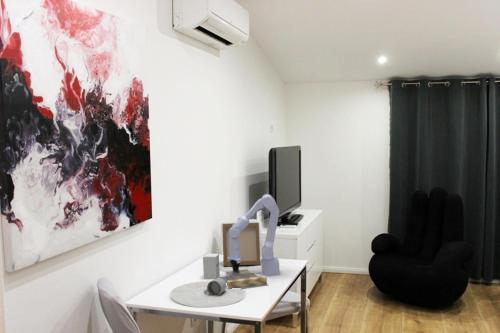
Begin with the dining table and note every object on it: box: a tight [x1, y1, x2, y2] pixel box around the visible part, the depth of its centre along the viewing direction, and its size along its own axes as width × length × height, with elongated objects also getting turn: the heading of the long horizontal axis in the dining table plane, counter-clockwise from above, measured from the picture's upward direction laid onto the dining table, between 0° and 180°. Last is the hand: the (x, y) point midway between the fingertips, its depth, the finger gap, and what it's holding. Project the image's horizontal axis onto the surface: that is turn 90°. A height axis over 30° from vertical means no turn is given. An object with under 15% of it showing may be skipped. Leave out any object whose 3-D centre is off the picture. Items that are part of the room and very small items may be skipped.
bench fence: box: [226, 274, 268, 290], centre depth 243 cm, size 20×5×4 cm, turn 107°
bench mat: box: [218, 272, 269, 290], centre depth 250 cm, size 20×26×1 cm
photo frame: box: [222, 222, 261, 267], centre depth 289 cm, size 15×22×25 cm
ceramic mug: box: [203, 278, 227, 297], centre depth 233 cm, size 11×8×8 cm
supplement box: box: [202, 253, 221, 280], centre depth 261 cm, size 7×7×13 cm
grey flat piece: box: [225, 268, 252, 280], centre depth 257 cm, size 12×8×3 cm, turn 107°
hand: (235, 273), depth 262 cm, fingers closed
